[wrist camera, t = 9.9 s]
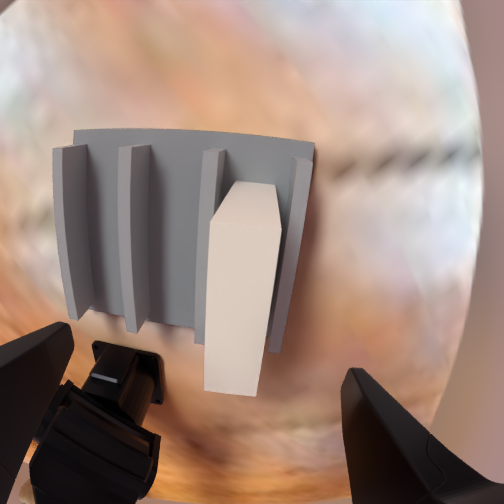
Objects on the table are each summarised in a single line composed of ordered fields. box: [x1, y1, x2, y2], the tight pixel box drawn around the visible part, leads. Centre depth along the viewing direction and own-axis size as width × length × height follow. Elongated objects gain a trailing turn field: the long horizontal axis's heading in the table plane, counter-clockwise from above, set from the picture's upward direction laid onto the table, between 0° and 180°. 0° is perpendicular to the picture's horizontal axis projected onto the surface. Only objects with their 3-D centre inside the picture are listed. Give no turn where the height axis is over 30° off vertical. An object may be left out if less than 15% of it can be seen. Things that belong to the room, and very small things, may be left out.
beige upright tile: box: [204, 181, 282, 397], centre depth 16 cm, size 8×2×9 cm, turn 174°
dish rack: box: [53, 129, 315, 354], centre depth 19 cm, size 14×16×4 cm
